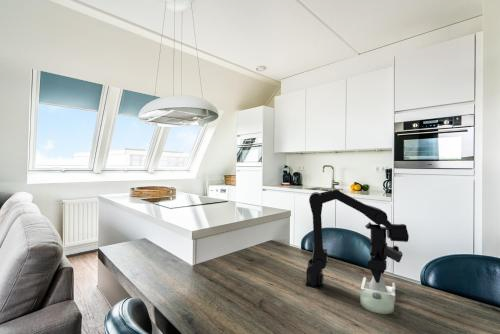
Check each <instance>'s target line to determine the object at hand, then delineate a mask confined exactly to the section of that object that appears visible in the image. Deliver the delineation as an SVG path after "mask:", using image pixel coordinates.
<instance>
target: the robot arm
mask: <svg viewBox="0 0 500 334" xmlns="http://www.w3.org/2000/svg"><path fill="white" fill-rule="evenodd" d="M334 200H336V201H339V202H340V203H342V204H344V205H346V206H348V207H350V208H352V209H354V210H356V211H357V212H359V213H361V214H362V215H364V216H365V217H367V219H369V220H370V221H371V222H373V223H374V224H373V223H371V222H370V221H369V222H368V223H367V224H365V226H364V227H365V228H366V230H370V238H369V239H370V242H369V246H370V248H369V249H370V252H369V256H370V257H369V258H368V260H367V266H368V268H369V270H370V272H371V274H372V277H374V279H375V281H376V283H379V281H380V277H381V273H382V274H383V272H384V271H386V270H387V259H388V258H389V259H391V260H393V261H395V262H396V263H401V260H402V258H403V252H402V251H401V250H400V248H399V246H397V245H393V246H389V245H388V243H387V238H388V239H390V241H391V242H399V243H400V242H402V243H408V242H409V237H410V235H409V232H408V229H407V224H404V223H400V224H397V223H392V222H390V221H389V219H388V214H387V212H385V211H384V210H382V209H381V208H379V207H376V206H372V205H368V204H365V203H364V202H362V201H359V200H357V199H356V198H354V197H352V196H350V195H348V194H346V193H344V192H342V191H340V190H339V189H337V188H334V189H331V190H328V191H327V190H326V191H323V192H315V191H314V192H312V193H311V194H310V196H309V199H308V203H309V207H310V210H311V214H312V225H313V226H312V229H313V243H314V244H313V251H312V257H311V258H310V259H309V260H308V261H307V268H306V271H305V272H306V282H305V283H304V286H307V287H311V288H315V289H321V288H322V286H323V285H324V283H325V279H324V278H325V276H324V275H325V274H324V273H323V270H324V269H325V268H326V266H327V264H329V260H328V259H329V258H328V249H327V248H324V244H323V226H322V224H323V223H322V212H323V204H325V203H329V202H332V201H334ZM381 225H382V226H381Z"/></svg>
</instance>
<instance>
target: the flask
mask: <svg viewBox="0 0 500 334" xmlns="http://www.w3.org/2000/svg"><path fill="white" fill-rule="evenodd" d="M386 286H387V285H386V283H385V280H384V276H383V272H382V273H381V277H380V281H379V283H376V281H375V279H374V277H373V276H372V277H371V280H370V284H369V288H368V289H371V290H376V291H381V292H385V293H387V288H386Z"/></svg>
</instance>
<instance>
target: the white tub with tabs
mask: <svg viewBox="0 0 500 334" xmlns="http://www.w3.org/2000/svg"><path fill="white" fill-rule="evenodd" d="M361 282H362V283H361V286H360V296H359V297H360V302H359V303H360V305H361V306H362V307H363V308H364V309H365V310H368V311H369V312H372V313H376V314H380V315H389V314H391V313H393V312H394V311H395V303H396V282H392V284H391V286H390V285H386V288H387V293H385V292H381V291H376V290H371V289H368V288H369V284H370V282H371V281H370V282H369V281H367V277H366V276H363V278H362V281H361Z"/></svg>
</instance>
